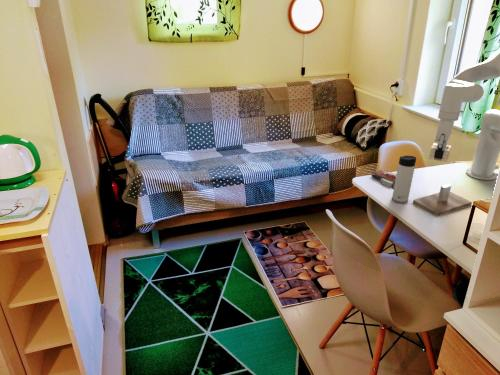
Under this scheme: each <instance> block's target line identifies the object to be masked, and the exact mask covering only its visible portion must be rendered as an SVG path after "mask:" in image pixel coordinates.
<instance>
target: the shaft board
mask: <svg viewBox="0 0 500 375" xmlns="http://www.w3.org/2000/svg"><path fill="white" fill-rule="evenodd" d="M451 190H452V184H449V183H447V184H444V185H441V186H440V190H439V192H436V193H432V194H429V195H427V196H423V197H420V198H419V197H418V198H416V199H413V200H412V204H414V205H415V206H417V207H419V208H421V209H423V210H424V211H426V212H428V213H430V214H432V215H434V216H436V217H439V216H442V215H445V214H448V213H451V212H454V211H458V210H460V209H464V208H468V207H469V206H472V202H473V201H471V200H468V199H467V198H465V197H462V196H461V195H458V194H456V193H454V192H451Z"/></svg>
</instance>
